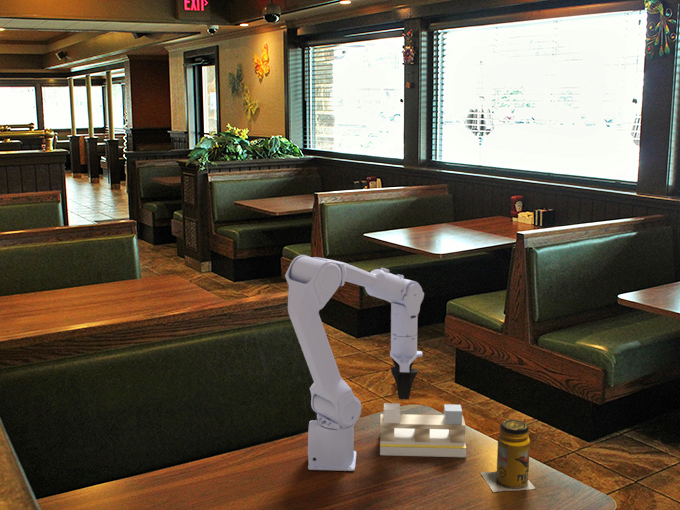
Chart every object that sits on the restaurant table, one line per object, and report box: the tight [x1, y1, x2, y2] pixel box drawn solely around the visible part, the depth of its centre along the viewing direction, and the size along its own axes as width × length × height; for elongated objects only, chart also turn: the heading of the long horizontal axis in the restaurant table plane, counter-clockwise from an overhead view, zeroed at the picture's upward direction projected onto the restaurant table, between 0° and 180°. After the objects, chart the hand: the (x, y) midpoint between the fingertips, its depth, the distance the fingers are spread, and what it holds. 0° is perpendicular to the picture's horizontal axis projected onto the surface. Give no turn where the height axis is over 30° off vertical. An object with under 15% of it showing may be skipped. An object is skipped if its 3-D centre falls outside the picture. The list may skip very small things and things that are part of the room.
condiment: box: [480, 419, 536, 493], centre depth 136 cm, size 7×8×12 cm
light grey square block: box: [443, 403, 463, 425], centre depth 150 cm, size 4×4×3 cm
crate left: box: [383, 402, 401, 423], centre depth 151 cm, size 4×4×3 cm
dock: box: [379, 428, 467, 458], centre depth 152 cm, size 18×10×2 cm, turn 86°
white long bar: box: [379, 413, 467, 444], centre depth 151 cm, size 18×5×4 cm, turn 86°
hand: (403, 392), depth 155 cm, fingers open, 7 cm apart
